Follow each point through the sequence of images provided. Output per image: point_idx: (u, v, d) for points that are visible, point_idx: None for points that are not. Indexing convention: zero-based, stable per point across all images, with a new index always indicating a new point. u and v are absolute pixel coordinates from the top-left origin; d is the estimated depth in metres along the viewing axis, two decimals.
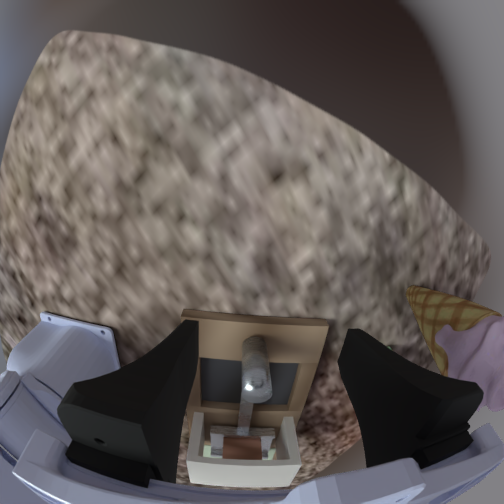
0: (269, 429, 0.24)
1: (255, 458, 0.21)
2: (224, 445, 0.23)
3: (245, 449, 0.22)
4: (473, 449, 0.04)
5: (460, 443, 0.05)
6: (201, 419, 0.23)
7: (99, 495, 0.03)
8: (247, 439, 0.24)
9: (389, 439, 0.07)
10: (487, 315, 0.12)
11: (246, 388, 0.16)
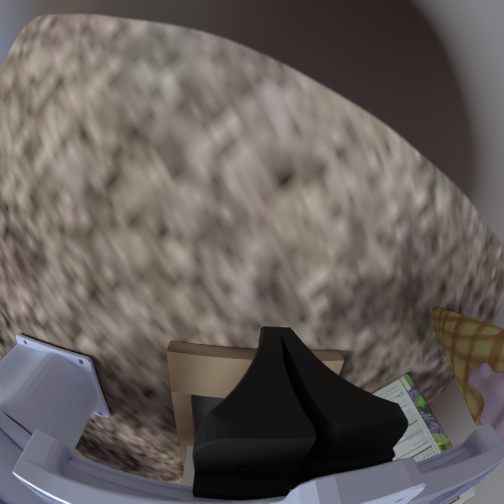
0: None
1: None
2: None
3: None
4: (473, 449, 0.04)
5: None
6: None
7: (99, 495, 0.03)
8: None
9: None
10: None
11: None
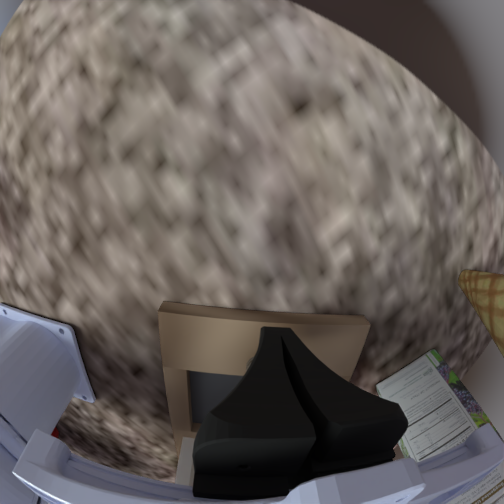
0: None
1: None
2: None
3: None
4: (473, 449, 0.04)
5: None
6: (192, 447, 0.16)
7: (99, 495, 0.03)
8: None
9: None
10: None
11: None
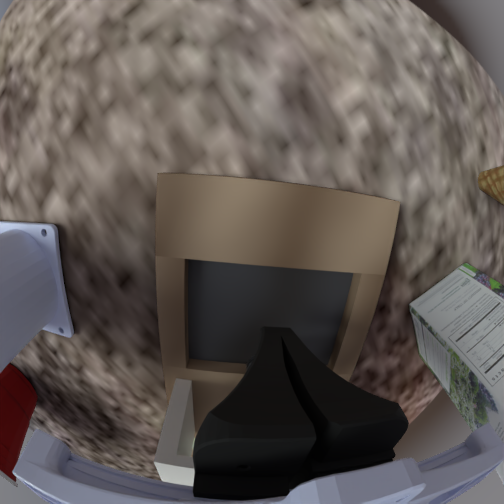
0: None
1: None
2: None
3: None
4: (473, 449, 0.04)
5: None
6: (187, 390, 0.14)
7: (99, 495, 0.03)
8: None
9: None
10: None
11: None
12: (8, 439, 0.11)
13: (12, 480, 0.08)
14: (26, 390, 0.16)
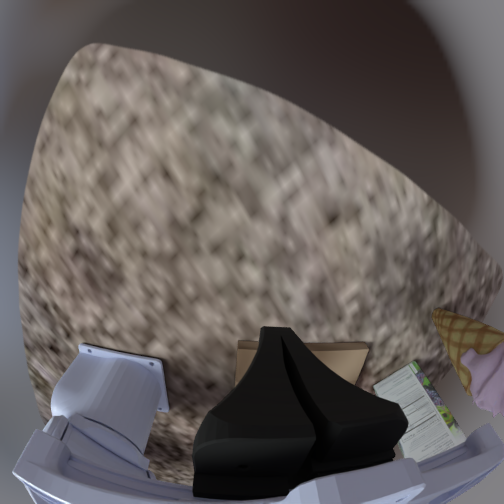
0: None
1: None
2: None
3: None
4: (473, 449, 0.04)
5: None
6: None
7: (99, 495, 0.03)
8: None
9: None
10: (503, 340, 0.13)
11: None
12: None
13: None
14: None
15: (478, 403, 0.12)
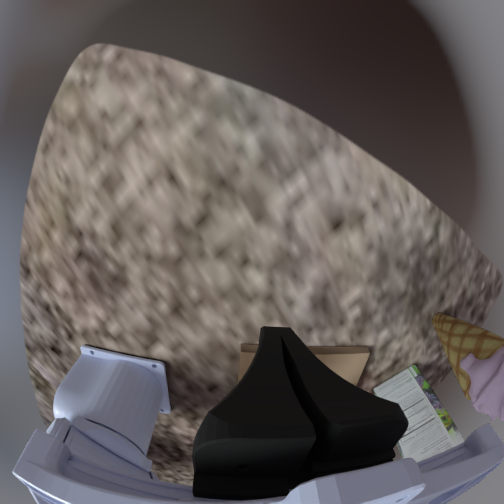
0: None
1: None
2: None
3: None
4: (473, 449, 0.04)
5: None
6: None
7: (99, 495, 0.03)
8: None
9: None
10: (502, 346, 0.13)
11: None
12: None
13: None
14: None
15: (477, 407, 0.13)
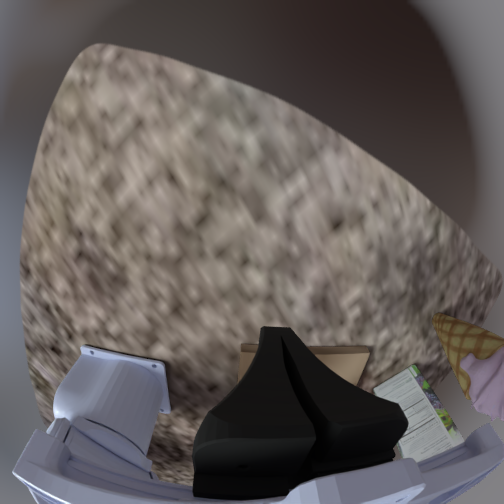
0: None
1: None
2: None
3: None
4: (473, 449, 0.04)
5: None
6: None
7: (99, 495, 0.03)
8: None
9: None
10: (502, 346, 0.13)
11: None
12: None
13: None
14: None
15: (477, 407, 0.13)
